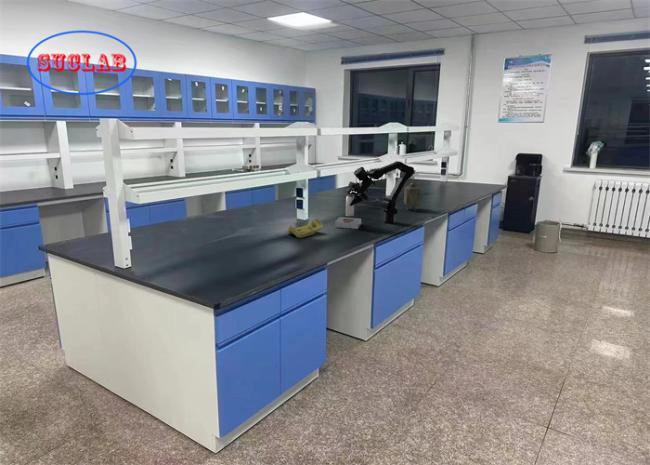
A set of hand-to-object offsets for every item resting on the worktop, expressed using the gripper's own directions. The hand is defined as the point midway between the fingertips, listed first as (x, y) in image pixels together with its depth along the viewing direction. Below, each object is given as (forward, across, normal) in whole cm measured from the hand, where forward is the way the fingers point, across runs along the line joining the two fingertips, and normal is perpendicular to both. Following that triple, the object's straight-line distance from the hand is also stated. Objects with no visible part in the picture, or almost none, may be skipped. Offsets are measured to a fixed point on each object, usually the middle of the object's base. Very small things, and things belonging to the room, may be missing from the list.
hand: (347, 204), depth 260 cm
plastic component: (+32, +8, -12) cm, 35 cm away
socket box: (+9, -1, +10) cm, 14 cm away
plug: (+4, 0, +6) cm, 7 cm away
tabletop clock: (-40, -30, +60) cm, 78 cm away
